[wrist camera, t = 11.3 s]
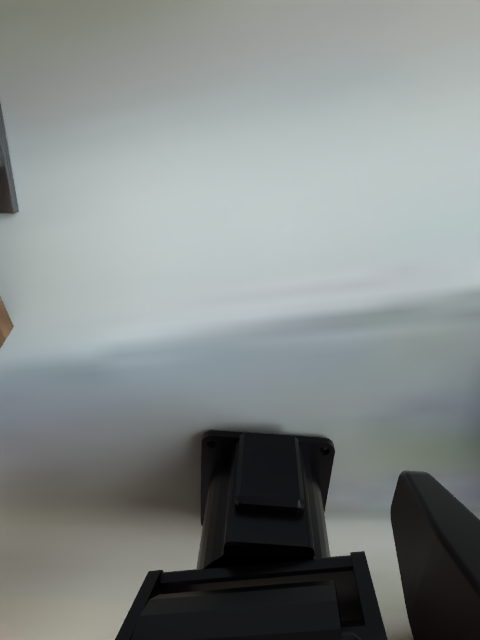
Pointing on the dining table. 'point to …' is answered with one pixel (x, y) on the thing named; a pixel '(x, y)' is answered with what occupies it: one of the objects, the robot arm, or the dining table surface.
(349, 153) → the dining table surface
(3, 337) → the brown wooden ramp
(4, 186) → the fulcrum
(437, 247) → the dining table surface
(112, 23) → the dining table surface
